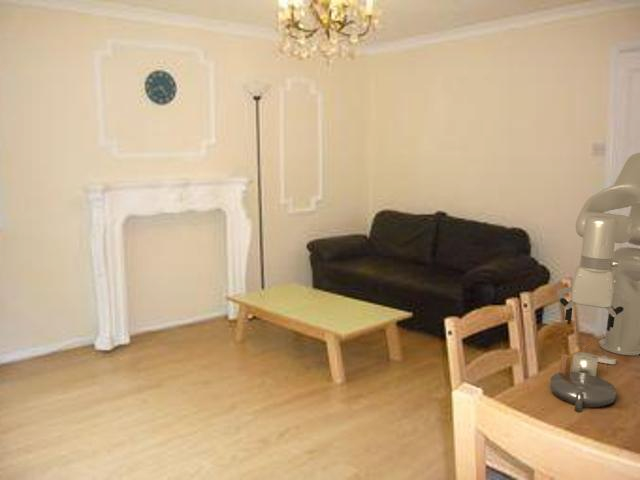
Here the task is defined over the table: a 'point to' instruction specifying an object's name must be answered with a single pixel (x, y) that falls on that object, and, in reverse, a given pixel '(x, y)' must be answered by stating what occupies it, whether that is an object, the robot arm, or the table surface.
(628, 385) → the table surface
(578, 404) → the dial pointer
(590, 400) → the turntable
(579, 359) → the cover
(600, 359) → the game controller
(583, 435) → the table surface
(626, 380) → the table surface
